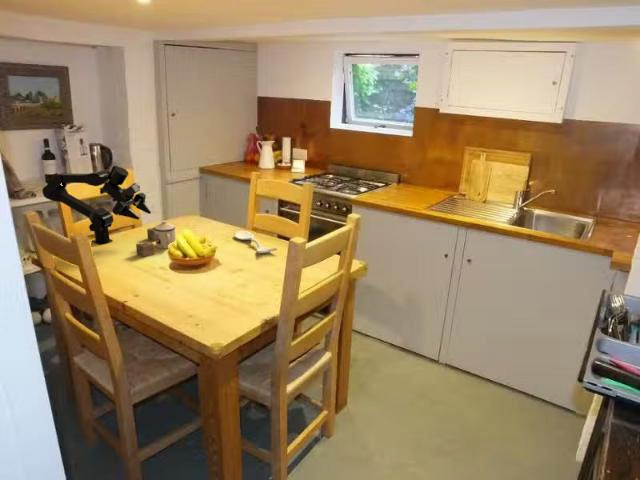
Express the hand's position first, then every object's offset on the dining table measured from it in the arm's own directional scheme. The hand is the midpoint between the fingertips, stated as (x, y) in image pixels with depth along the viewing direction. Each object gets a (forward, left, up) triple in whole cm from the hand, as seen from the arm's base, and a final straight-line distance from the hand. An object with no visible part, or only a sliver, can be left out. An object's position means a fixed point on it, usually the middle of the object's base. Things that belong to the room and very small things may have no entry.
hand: (144, 215), depth 203 cm
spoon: (+35, +32, -15) cm, 50 cm away
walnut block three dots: (-6, +9, -15) cm, 18 cm away
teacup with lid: (+6, +6, -15) cm, 17 cm away
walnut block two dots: (+7, -6, -15) cm, 18 cm away
